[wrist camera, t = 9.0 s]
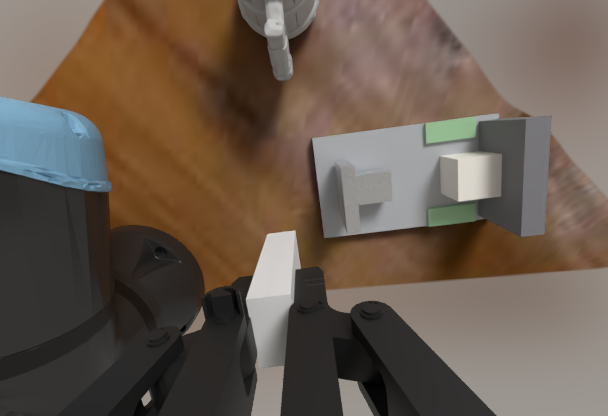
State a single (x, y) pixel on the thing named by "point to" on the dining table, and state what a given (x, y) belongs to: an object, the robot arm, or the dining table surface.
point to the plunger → (360, 191)
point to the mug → (279, 27)
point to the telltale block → (471, 175)
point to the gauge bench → (426, 173)
